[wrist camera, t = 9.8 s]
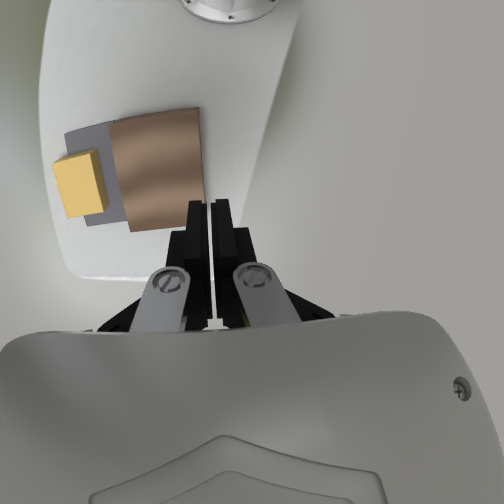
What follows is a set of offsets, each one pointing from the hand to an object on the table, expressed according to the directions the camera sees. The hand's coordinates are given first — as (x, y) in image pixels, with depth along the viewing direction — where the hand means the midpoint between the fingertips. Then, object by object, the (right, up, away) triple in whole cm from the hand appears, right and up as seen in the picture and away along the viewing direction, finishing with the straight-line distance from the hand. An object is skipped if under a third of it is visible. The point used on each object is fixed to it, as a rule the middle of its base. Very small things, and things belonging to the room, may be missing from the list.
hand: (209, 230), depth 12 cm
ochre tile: (-20, +7, +17) cm, 27 cm away
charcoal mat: (-19, +9, +19) cm, 28 cm away
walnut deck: (-9, +10, +20) cm, 24 cm away
